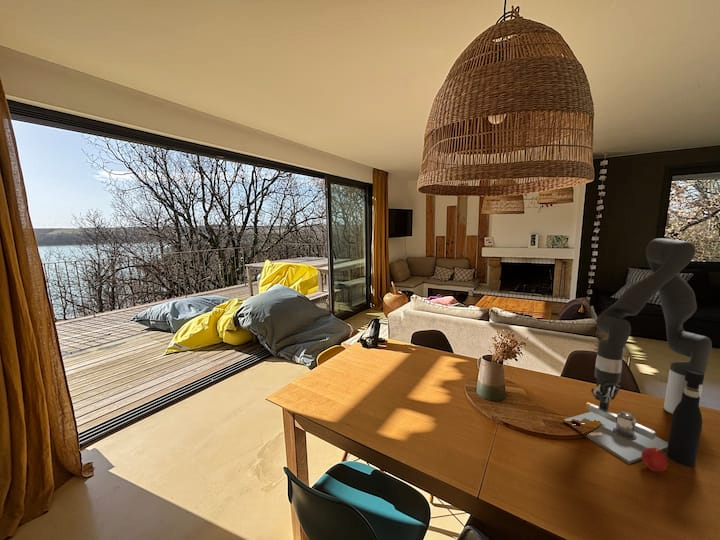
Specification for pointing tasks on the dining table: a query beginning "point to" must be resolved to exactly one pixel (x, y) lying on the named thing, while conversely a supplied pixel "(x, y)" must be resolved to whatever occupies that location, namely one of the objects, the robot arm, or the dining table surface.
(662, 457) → the onion
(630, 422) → the silver knobbed bar
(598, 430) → the board
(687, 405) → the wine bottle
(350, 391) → the dining table surface
